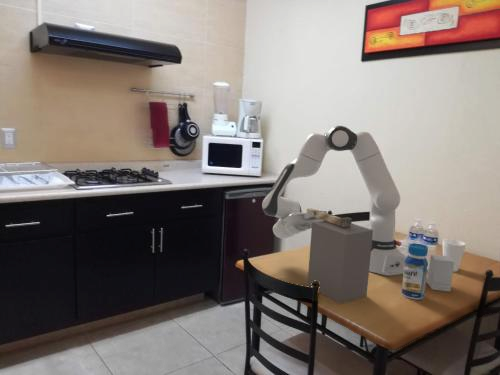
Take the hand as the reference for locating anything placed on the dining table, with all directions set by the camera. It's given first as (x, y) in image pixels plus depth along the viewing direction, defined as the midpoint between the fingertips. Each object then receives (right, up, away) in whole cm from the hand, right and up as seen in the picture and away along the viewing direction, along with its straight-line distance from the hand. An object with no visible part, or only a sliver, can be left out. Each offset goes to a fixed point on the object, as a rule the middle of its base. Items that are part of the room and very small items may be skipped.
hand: (317, 213), depth 160 cm
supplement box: (+50, -31, +1) cm, 58 cm away
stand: (+6, -30, -7) cm, 31 cm away
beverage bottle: (+35, -32, -8) cm, 48 cm away
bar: (+3, -3, -4) cm, 6 cm away
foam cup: (+66, -28, +22) cm, 75 cm away
